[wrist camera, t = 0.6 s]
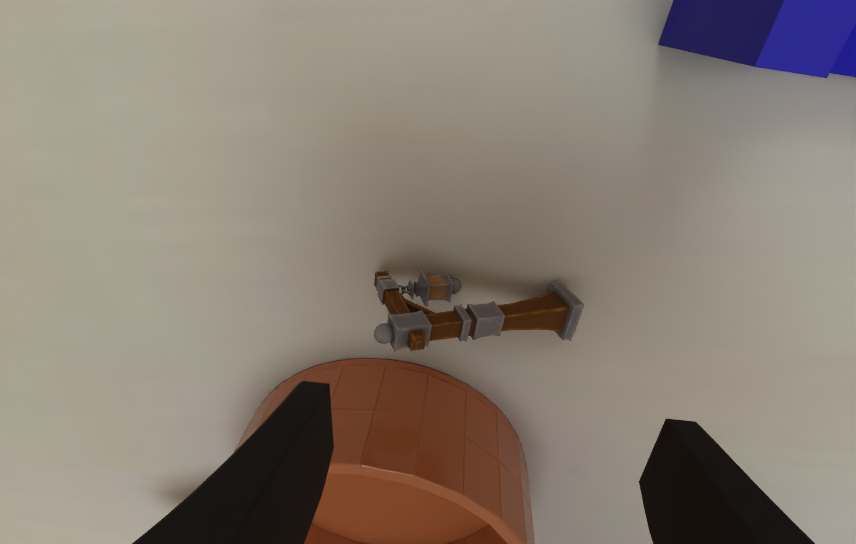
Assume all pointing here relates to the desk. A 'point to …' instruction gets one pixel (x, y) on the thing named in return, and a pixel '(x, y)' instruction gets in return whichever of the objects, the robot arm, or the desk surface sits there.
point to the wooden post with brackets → (467, 313)
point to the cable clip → (768, 33)
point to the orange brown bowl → (413, 459)
